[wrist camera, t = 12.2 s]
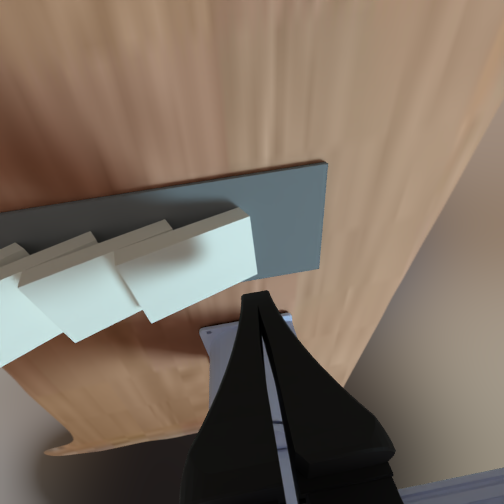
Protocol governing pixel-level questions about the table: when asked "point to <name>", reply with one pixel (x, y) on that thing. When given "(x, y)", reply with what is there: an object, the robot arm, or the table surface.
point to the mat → (195, 215)
